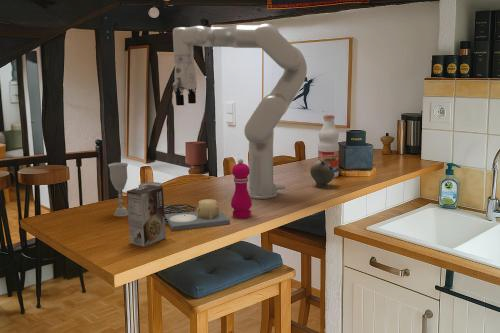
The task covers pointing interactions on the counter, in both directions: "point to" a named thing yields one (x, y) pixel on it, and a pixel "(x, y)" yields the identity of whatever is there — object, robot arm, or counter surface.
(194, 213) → the plate
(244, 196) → the pepper mill
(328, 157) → the fruit juice
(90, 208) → the counter surface
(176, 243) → the counter surface
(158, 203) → the coffee box
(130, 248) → the counter surface
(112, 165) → the chalice
